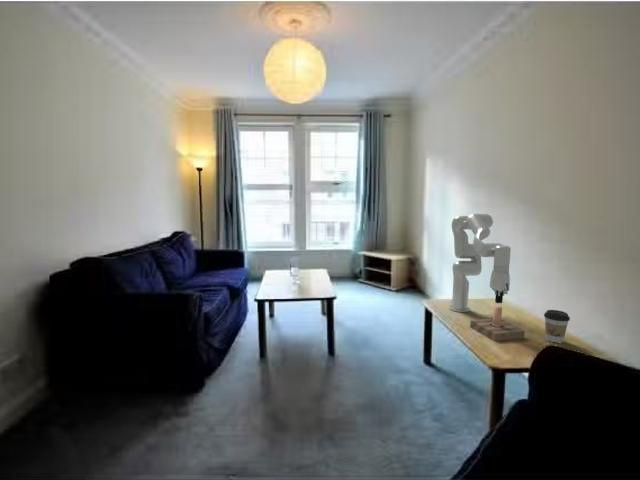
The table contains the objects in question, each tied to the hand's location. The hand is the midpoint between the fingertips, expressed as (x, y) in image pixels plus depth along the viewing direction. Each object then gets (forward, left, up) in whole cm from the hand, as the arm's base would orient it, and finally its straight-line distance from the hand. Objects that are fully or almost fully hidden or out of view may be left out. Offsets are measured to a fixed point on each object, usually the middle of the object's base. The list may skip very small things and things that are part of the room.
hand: (498, 302), depth 204 cm
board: (0, 0, -17) cm, 17 cm away
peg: (0, 0, -17) cm, 17 cm away
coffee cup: (+16, +22, -17) cm, 32 cm away
